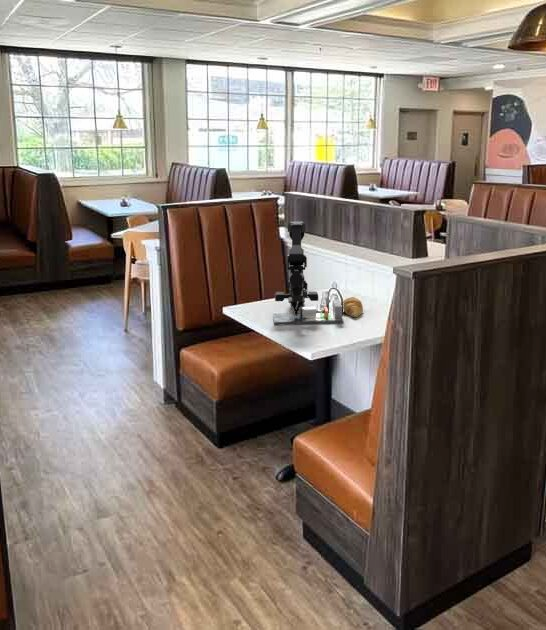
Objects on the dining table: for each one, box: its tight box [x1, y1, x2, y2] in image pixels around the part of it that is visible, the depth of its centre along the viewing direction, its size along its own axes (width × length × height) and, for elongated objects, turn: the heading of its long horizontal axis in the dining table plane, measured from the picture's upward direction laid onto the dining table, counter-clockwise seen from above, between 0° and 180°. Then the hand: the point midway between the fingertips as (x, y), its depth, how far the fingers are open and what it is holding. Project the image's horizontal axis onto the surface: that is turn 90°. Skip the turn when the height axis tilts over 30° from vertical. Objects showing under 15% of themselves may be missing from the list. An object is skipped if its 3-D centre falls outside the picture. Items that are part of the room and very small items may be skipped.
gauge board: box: [272, 299, 345, 326], centre depth 276 cm, size 13×30×7 cm, turn 92°
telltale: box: [323, 306, 329, 318], centre depth 276 cm, size 7×1×3 cm, turn 2°
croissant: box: [342, 296, 364, 318], centre depth 286 cm, size 21×10×8 cm, turn 3°
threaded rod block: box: [299, 306, 325, 318], centre depth 276 cm, size 4×11×4 cm, turn 92°
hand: (296, 315), depth 277 cm, fingers closed
